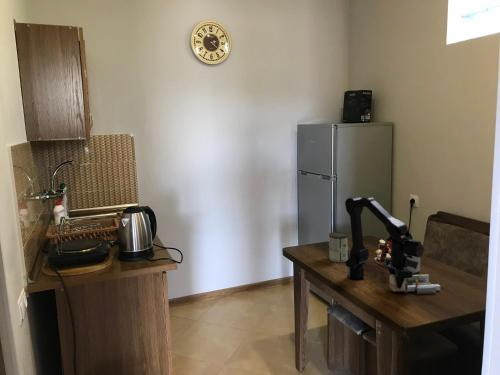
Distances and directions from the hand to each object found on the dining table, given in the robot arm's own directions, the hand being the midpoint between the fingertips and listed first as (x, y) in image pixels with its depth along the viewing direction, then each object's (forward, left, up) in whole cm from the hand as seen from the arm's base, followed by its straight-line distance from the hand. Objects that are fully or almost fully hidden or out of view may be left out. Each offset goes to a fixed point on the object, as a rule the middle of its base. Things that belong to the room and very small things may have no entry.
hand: (397, 286), depth 180 cm
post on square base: (+11, 0, -2) cm, 11 cm away
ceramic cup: (+16, +40, -3) cm, 43 cm away
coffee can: (-16, +46, -3) cm, 49 cm away
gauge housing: (+10, +2, -2) cm, 10 cm away
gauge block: (0, 0, -1) cm, 1 cm away
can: (+16, +24, -3) cm, 29 cm away
